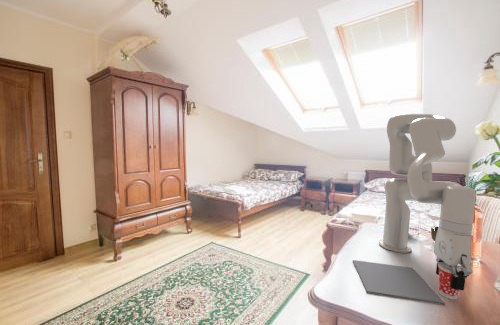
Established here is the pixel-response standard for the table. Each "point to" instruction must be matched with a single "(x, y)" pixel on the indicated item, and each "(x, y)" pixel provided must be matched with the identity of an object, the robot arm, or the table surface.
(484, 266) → the table surface
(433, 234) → the cup
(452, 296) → the beverage cup
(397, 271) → the mat
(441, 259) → the robot arm
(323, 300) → the table surface
